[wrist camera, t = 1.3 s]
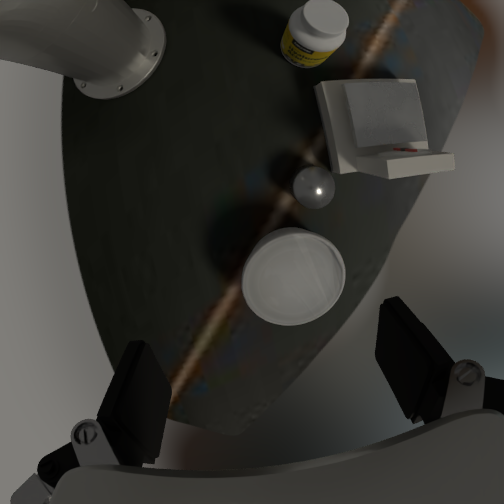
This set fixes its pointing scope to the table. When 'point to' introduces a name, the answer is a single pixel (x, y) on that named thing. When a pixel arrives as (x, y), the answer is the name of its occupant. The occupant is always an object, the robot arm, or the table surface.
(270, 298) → the ramekin
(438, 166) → the scale housing
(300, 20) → the supplement bottle
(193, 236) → the table surface
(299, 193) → the shiny gray ball
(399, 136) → the pan
